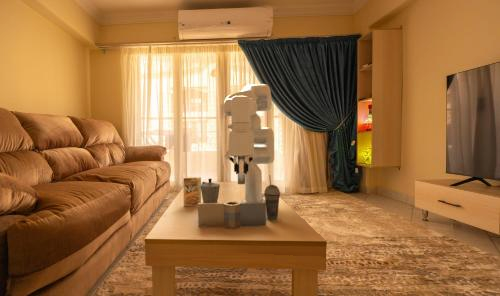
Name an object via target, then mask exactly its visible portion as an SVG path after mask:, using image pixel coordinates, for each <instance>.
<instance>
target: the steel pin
mask: <svg viewBox="0 0 500 296" xmlns="http://www.w3.org/2000/svg"><path fill="white" fill-rule="evenodd" d="M237 164H238V174H237V185H245V156H237Z"/></svg>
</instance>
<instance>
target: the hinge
mask: <svg viewBox="0 0 500 296" xmlns="http://www.w3.org/2000/svg"><path fill="white" fill-rule="evenodd" d="M197 209H198V210H197V218H198V219H197V220H198V221H197V222H198V223H197V224H198V228H212V227H213V228H214V227H215V228H219V227H221V228H222V227H223V228H225V229H228V230H230V229H232V230H233V229H234V230H236V229H238V228H241V227H266V226H267V212H266V202H264V203H243V202H239V201H237V200H235V201H230V200H229V201H225V202H221V203H220V202H217V203H203V202H201V203H198V206H197Z"/></svg>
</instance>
